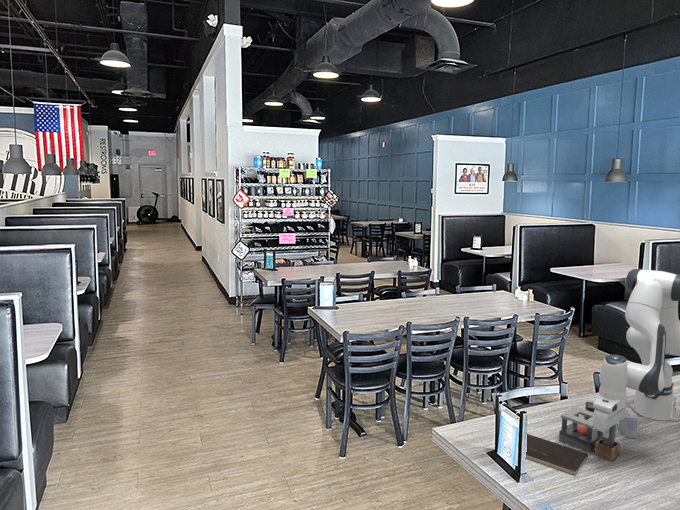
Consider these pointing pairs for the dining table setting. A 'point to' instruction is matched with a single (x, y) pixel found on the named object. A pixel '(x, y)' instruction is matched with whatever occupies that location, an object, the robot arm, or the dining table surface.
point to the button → (581, 429)
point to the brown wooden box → (607, 450)
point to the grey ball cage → (570, 432)
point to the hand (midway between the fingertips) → (609, 435)
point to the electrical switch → (589, 407)
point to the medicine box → (629, 424)
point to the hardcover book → (554, 454)
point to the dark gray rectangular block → (611, 439)
